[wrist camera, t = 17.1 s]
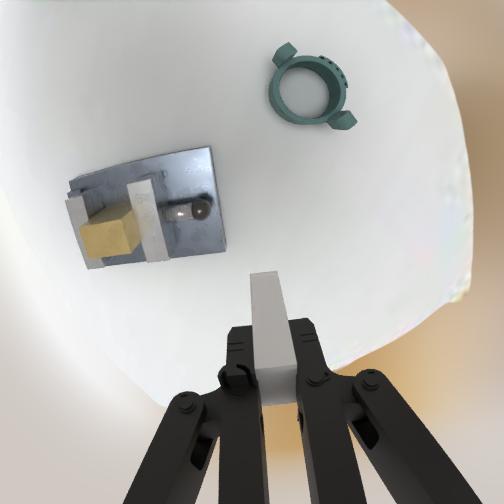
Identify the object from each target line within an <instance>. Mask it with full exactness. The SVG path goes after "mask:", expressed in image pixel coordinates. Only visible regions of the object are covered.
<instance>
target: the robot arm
mask: <svg viewBox="0 0 504 504" xmlns="http://www.w3.org/2000/svg"><path fill="white" fill-rule="evenodd" d="M250 288H251V308H252V325H249V326H239V327H232V329H231V330H230V332H229V334H228V337H227V357H226V365H225V366H223V367H222V368H221V370H220V371H219V373H218V379H219V382H220V385H221V386H220V387H219V388H218V389H217V390H215V391H213V392H210V393H207V394H204V395H199V394H197V393H195V392H189V391H186V392H182V393H179V394H178V395H176V396H175V397H174V398H173V399H172V401H171V402H170V404H169V406H168V408H167V411H166V413H165V415H164V417H163V419H162V421H161V423H160V425H159V427H158V429H157V432H156V434H155V436H154V438H153V440H152V442H151V444H150V446H149V448H148V451H147V453H146V455H145V457H144V459H143V461H142V463H141V465H140V468H139V470H138V472H137V474H136V476H135V478H134V481H133V482H132V485H131V487H130V489H129V491H128V493H127V495H126V498H125V500H124V502H123V504H195V502H196V499H197V496H198V494H199V491H200V488H201V485H202V482H203V479H204V476H205V474H206V471H207V468H208V465H209V462H210V459H211V456H212V453H213V450H214V447H215V444H216V441H217V438H218V437H219V436H220V454H219V499H218V502H219V503H218V504H270V503H269V490H268V477H267V463H266V450H265V436H264V424H263V415H262V406H271V405H280V404H288V403H294V402H297V404H298V421H299V424H300V430H301V437H302V443H303V450H304V456H305V463H306V470H307V477H308V484H309V491H310V497H311V504H367V502H366V497H365V493H364V489H363V484H362V481H361V476H360V472H359V468H358V464H357V460H356V456H355V452H354V448H353V444H352V440H351V437H350V433H349V429H348V426H349V427H350V429H351V430H352V432H353V434H354V435H355V437H356V439H357V440H358V442H359V444H360V445H361V447H362V448H363V450H364V452H365V453H366V455H367V457H368V458H369V460H370V462H371V463H372V465H373V466H374V468H375V470H376V471H377V473H378V474H379V476H380V478H381V479H382V481H383V482H384V484H385V486H386V487H387V489H388V490H389V492H390V494H391V495H392V497H393V498H394V500H395V502H396V503H397V504H482V502H481V501H480V499H479V498H478V496H477V495H476V494H475V493H474V491H473V489H472V488H471V487H470V485H469V484H468V483H467V481H466V480H465V478H464V477H463V476H462V474H461V473H460V472H459V470H458V469H457V468H456V466H455V465H454V464H453V462H452V461H451V459H450V458H449V457H448V455H447V454H446V453H445V451H444V450H443V449H442V447H441V446H440V445H439V443H437V441H436V440H435V438H434V437H433V436H432V434H431V433H430V432H429V430H428V429H427V428H426V427H425V425H424V424H423V423H422V421H421V420H420V419H419V418H418V416H417V415H416V414H415V413H414V411H413V410H412V409H411V407H410V406H409V405H408V404H407V402H406V401H405V400H404V399H403V397H402V396H401V395H400V394H399V392H398V391H397V390H396V389H395V387H394V386H393V385H392V384H391V382H390V381H389V380H388V379H387V377H386V376H385V375H384V374H383V373H382V372H380V371H378V370H375V369H366V370H362V371H361V372H359V373H358V374H357V375H356V376H343V375H338V374H336V373H334V372H332V371H331V370H330V369H329V368H328V367H327V365H326V362H325V359H324V356H323V352H322V349H321V346H320V342H319V340H318V336H317V334H316V330H315V327H314V324H313V323H312V322H311V321H310V320H309V319H308V318H302V319H294V320H288V318H287V313H286V309H285V304H284V299H283V295H282V290H281V286H280V281H279V277H278V272H277V271H271V272H263V273H254V274H250ZM347 424H348V425H347Z"/></svg>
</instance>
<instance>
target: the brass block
mask: <svg viewBox="0 0 504 504" xmlns="http://www.w3.org/2000/svg"><path fill="white" fill-rule="evenodd" d="M79 231H80V234H81V237H82V240H83V243H84V246H85V249H86V252H87V255H88V258H89V259H94V258H101V257H109V256H116V255H123V254H131V253H132V252H133V250H134V249H135V248H136V246H137V245H138V244H139V242H140V241H141V239H140V236H139V232H138V228H137V225H136V221H135V217H134V213H133V209H132V205H131V201H130V202H125V203H120V204H116V205H111V206H107V207H106V208H104V209H103V210H102V211H100V212H99V213H97V214H96V215H95V216H93V217H92V218H91V219H89V220H88V221H87V222H85V223H84V224H83V225H82V226H80V227H79Z"/></svg>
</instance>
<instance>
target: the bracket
mask: <svg viewBox="0 0 504 504" xmlns="http://www.w3.org/2000/svg"><path fill="white" fill-rule="evenodd" d="M296 52H297V50H296V49H295V48H294V47H293V46H292V45H291V44H290V43H289V42H288V43H286V44H284V45H283V46H281V47H280V48H279V49H278V50H277V51H276V53H275V55H274V57H273V59H272V61H273V62H274V63H275V65H276V66H277V67H278V68H279V69H278V70H277V72H276V74H275V75H274V77H273V78H272V80H271V82H270V85H269V99H270V102H271V105H272V107H273V108H274V110H275V111H276V112H277V113H278V114H279V115H280V116H281V117H282V118H284V119H285V120H287V121H289V122H292V123H295V124H321V123H325V122H327V123H328V124H329V125H330V126H331V127H332V128H333V129H338V130H348V129H350V128H351V127H353V126H354V125H355V124H356V123H357V120H356V119H355V117H354V116H353V115H352V113H351V112H350V111H349V110H348V111H341V109H342V108H343V106H344V103H345V99H346V88H348V83H347V80H346V78H345V76H344V74H343V72H342V71H341V69H340V68H339V67H338V66H337V65H336V64H335V63H334V62H332V61H331V60H330V59H328V58H326V57H324V56H319V57H314V56H298V57H294V58H293V56H294V55H295V54H296ZM293 67H304V68H308V69H311V70H313V71H315V72H316V73H318V74H319V75H320V76H321V77H322V78H323V79H324V80H325V82H326V84H327V86H328V88H329V92H330V101H329V105H328V107H327V109H326V111H325V112H324V113H323V114H322V115H321V116H320V117H318V118H316V119H309V118H304V117H301V116H298V115H297V114H295V113H293V112H292V111H291V110H289V109H288V107H287V106H286V105H285V104H284V102H283V101H282V98H281V96H280V92H279V81H280V78H281V76H282V74H283V72H284V71H285V70H286V69H289V68H293Z"/></svg>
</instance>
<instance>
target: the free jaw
mask: <svg viewBox="0 0 504 504" xmlns="http://www.w3.org/2000/svg"><path fill="white" fill-rule="evenodd" d="M127 188H128V192H129V197H130V201H131V205H132V209H133V213H134V217H135V221H136V225H137V228H138V232H139V236H140V239H141V243H142V246H143V250H144V253H145V256H146V260H147V263H149V262H158V261H166V260H170V258H171V256H172V254H173V252H174V250H175V248H176V246H177V241H176V237H175V233H174V228H173V224H172V222H177V221H184V220H191V219H195V220H198V221H202V220H205V219H207V218H208V217H209V215H210V214H211V206H210V204H209V202H208V201H206V200H204V199H197V200H195V201H193V202H192V203H185V204H179V205H173V206H168V201H167V196H166V192H165V187H164V182H163V176H162V172H160V173H155V174H150V175H145V176H141V177H139V178H137V179H135V180H133V181H132V182H130V183H128V184H127Z"/></svg>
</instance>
